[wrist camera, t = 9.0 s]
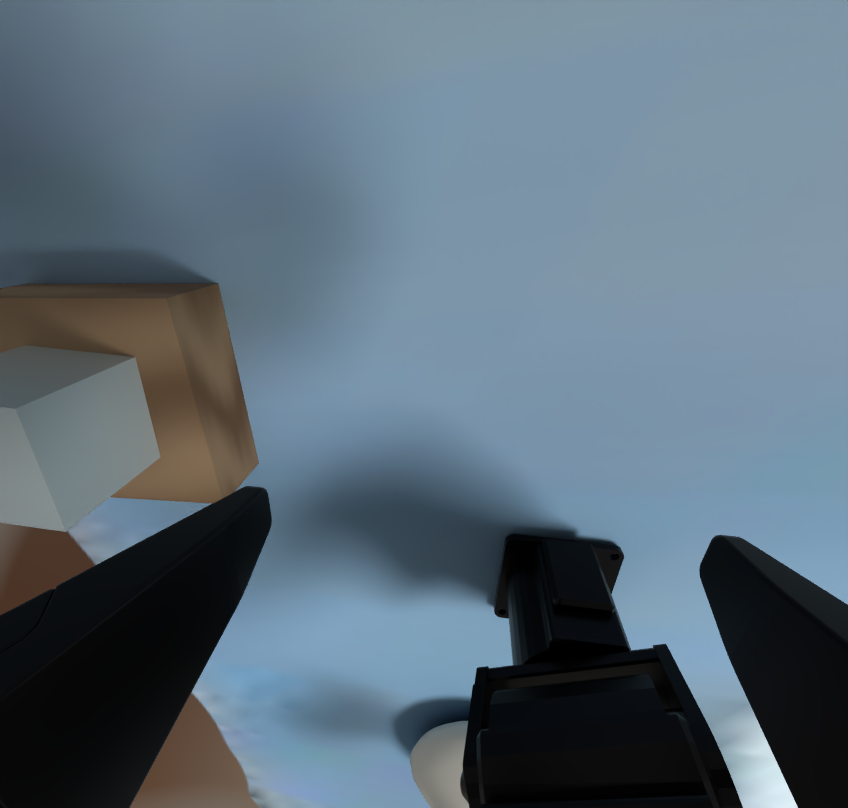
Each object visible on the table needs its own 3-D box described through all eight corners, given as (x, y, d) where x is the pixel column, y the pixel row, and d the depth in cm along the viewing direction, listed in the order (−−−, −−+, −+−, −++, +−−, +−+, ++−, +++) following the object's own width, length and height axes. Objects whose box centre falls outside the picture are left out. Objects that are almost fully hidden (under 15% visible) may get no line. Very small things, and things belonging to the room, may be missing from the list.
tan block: (261, 459, 24) (224, 504, 20) (105, 452, 25) (42, 492, 21) (222, 282, 20) (166, 298, 16) (35, 282, 21) (-57, 297, 17)
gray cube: (160, 457, 19) (65, 531, 15) (62, 444, 20) (-59, 514, 15) (135, 357, 17) (15, 408, 13) (25, 345, 18) (-129, 391, 13)
